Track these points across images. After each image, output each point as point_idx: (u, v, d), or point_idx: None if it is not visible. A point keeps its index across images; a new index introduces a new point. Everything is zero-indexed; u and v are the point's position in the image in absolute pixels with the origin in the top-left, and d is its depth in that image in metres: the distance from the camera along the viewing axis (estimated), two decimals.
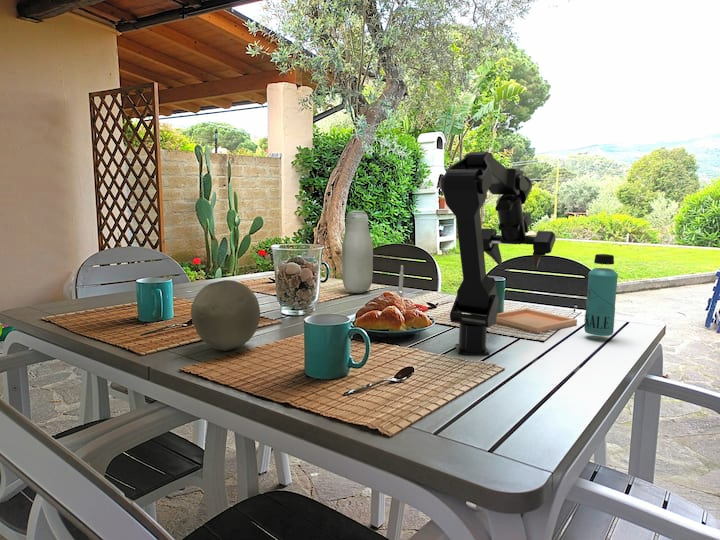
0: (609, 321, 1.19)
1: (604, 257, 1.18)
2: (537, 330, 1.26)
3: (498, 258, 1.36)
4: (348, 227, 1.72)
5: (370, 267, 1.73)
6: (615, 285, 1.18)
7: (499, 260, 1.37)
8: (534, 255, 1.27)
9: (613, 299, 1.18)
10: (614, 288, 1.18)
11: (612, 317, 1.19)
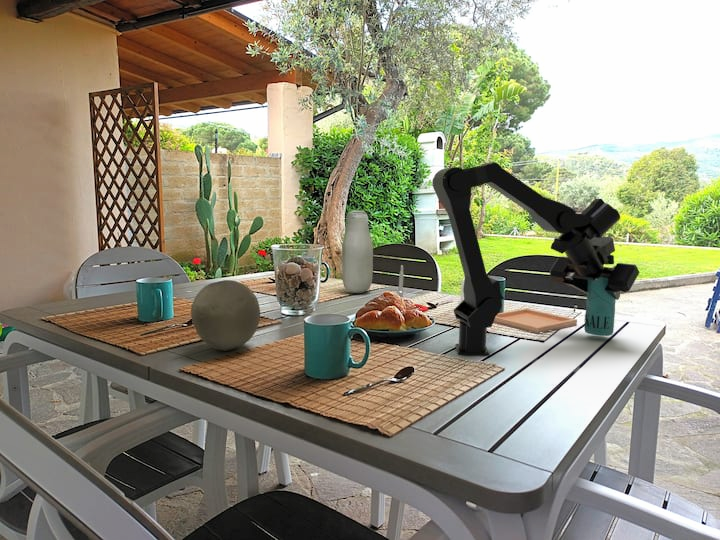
0: (609, 321, 1.19)
1: None
2: (537, 330, 1.26)
3: (585, 288, 1.23)
4: (348, 227, 1.72)
5: (370, 267, 1.73)
6: None
7: None
8: (607, 291, 1.14)
9: (613, 299, 1.18)
10: None
11: (612, 317, 1.19)
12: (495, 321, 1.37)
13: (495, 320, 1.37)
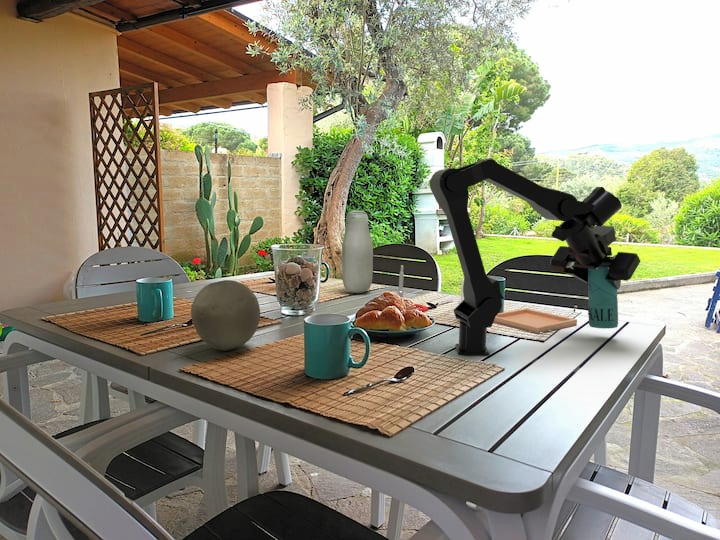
0: (613, 313, 1.18)
1: None
2: (537, 330, 1.26)
3: (586, 278, 1.22)
4: (348, 227, 1.72)
5: (370, 267, 1.73)
6: None
7: None
8: (607, 279, 1.14)
9: (615, 290, 1.18)
10: None
11: (615, 309, 1.18)
12: (495, 321, 1.37)
13: (495, 320, 1.37)
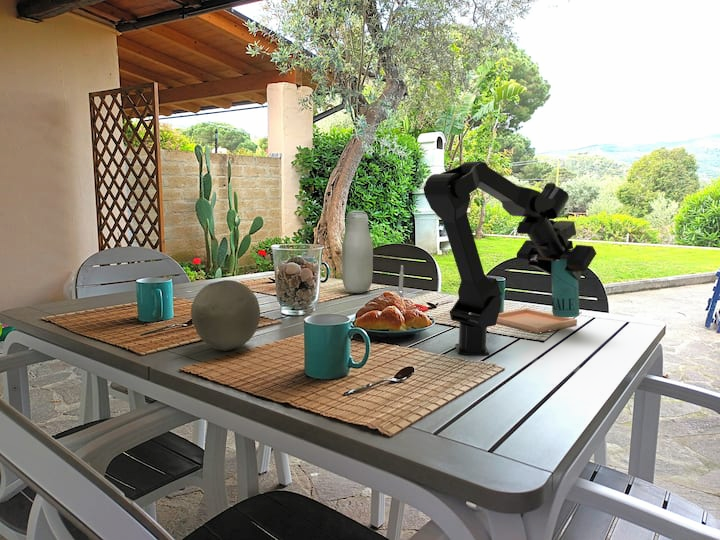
0: (574, 303, 1.25)
1: None
2: (537, 330, 1.26)
3: (550, 270, 1.30)
4: (348, 227, 1.72)
5: (370, 267, 1.73)
6: None
7: None
8: (566, 271, 1.22)
9: (575, 281, 1.25)
10: None
11: (576, 299, 1.26)
12: None
13: None
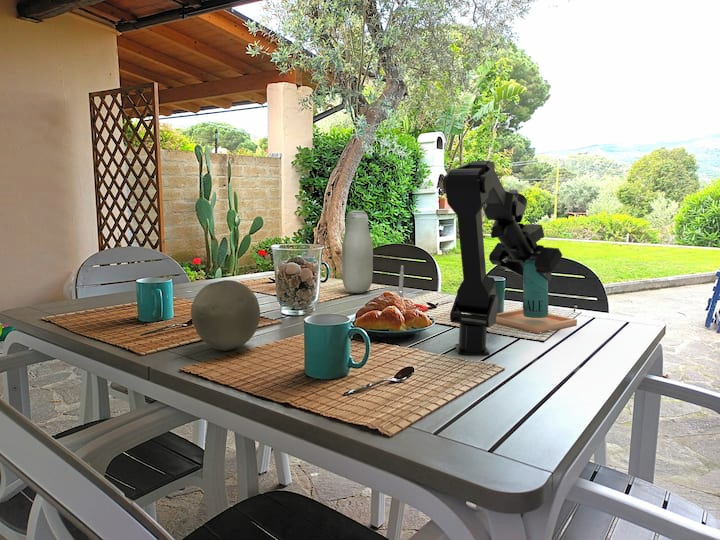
0: (543, 304, 1.33)
1: None
2: (537, 330, 1.26)
3: (518, 271, 1.38)
4: (348, 227, 1.72)
5: (370, 267, 1.73)
6: None
7: (520, 272, 1.38)
8: (537, 272, 1.28)
9: (545, 284, 1.32)
10: None
11: (545, 301, 1.33)
12: None
13: None
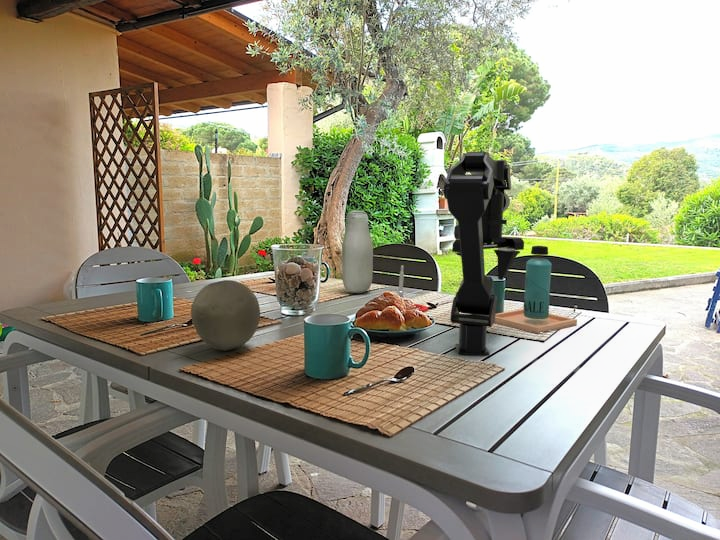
0: (544, 306, 1.32)
1: (539, 248, 1.31)
2: (537, 330, 1.26)
3: None
4: (348, 227, 1.72)
5: (370, 267, 1.73)
6: (549, 273, 1.32)
7: None
8: (513, 254, 1.23)
9: (547, 286, 1.32)
10: (548, 276, 1.32)
11: (547, 302, 1.33)
12: (495, 321, 1.37)
13: (495, 320, 1.37)
